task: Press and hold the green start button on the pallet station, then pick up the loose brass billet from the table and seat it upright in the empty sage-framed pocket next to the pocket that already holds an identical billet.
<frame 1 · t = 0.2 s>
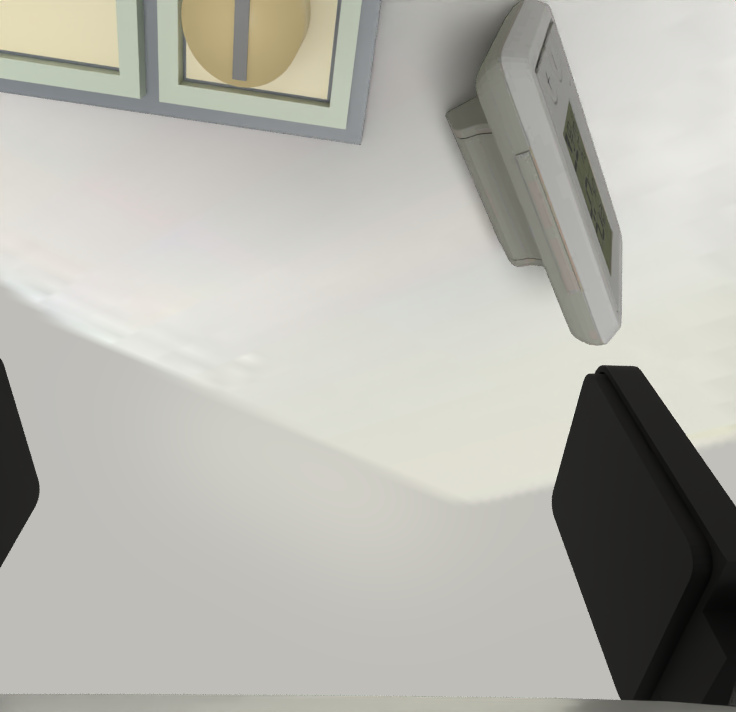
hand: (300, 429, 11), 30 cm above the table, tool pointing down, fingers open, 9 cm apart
digital clock: (536, 147, 39), on the table
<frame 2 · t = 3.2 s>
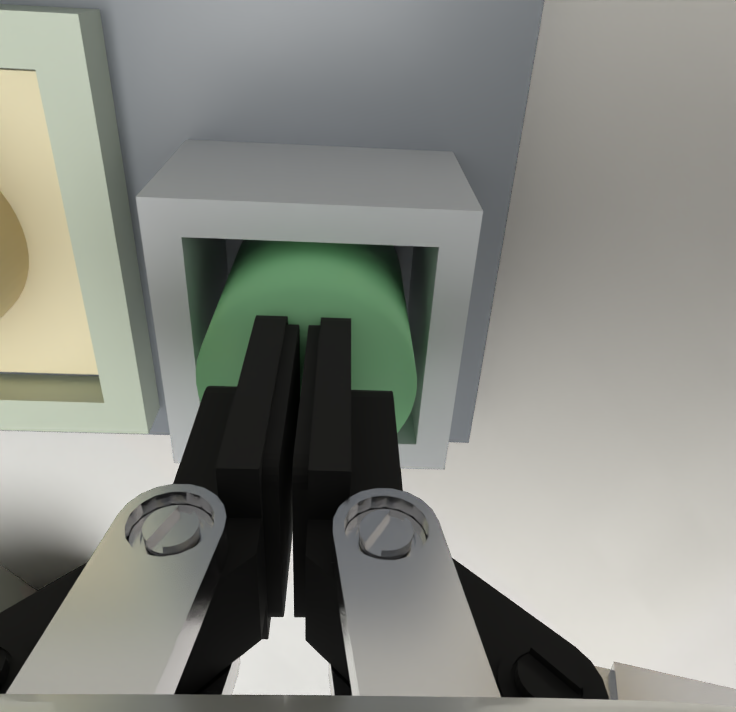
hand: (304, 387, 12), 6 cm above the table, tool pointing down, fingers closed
start button: (313, 327, 14), point 4 cm above the table, slide at 0.7 cm, touching gripper
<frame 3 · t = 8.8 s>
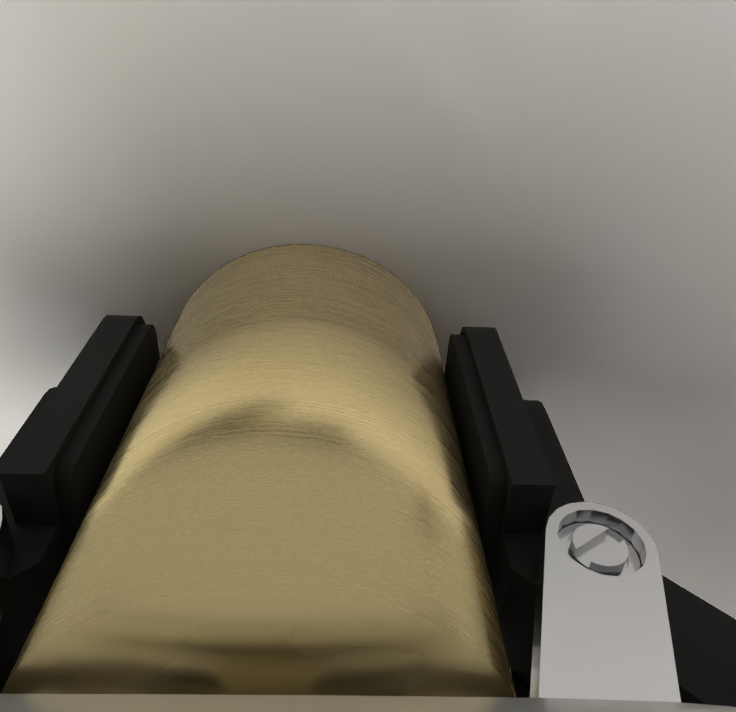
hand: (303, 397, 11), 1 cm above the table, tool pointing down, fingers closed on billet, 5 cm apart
billet: (307, 368, 12), on the table, touching gripper
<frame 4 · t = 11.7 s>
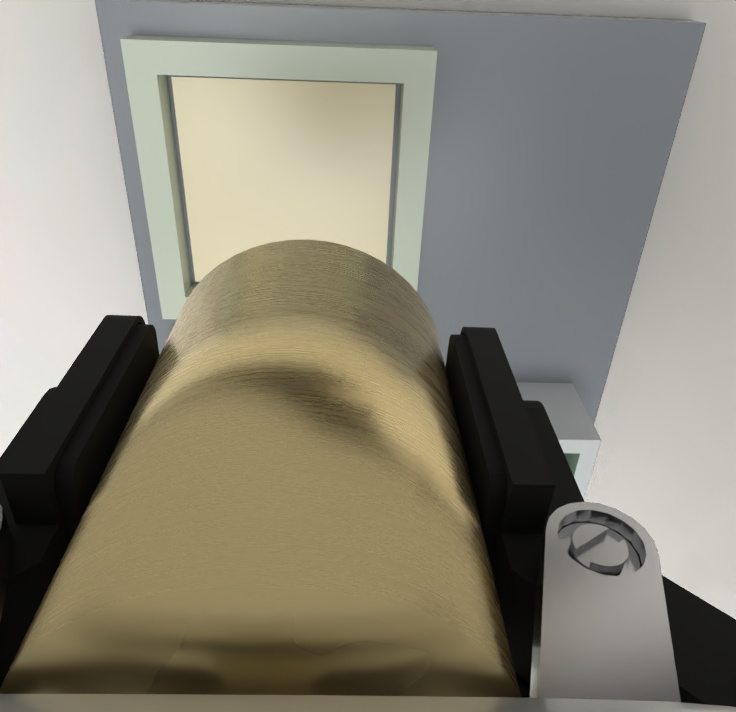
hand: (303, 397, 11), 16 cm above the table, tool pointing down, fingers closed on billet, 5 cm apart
station: (386, 307, 28), on the table
billet: (308, 364, 12), point 15 cm above the table, touching gripper
when the fingers open (4 cm above the table, at t = 14.5 s): billet drops 1 cm, resting on station.
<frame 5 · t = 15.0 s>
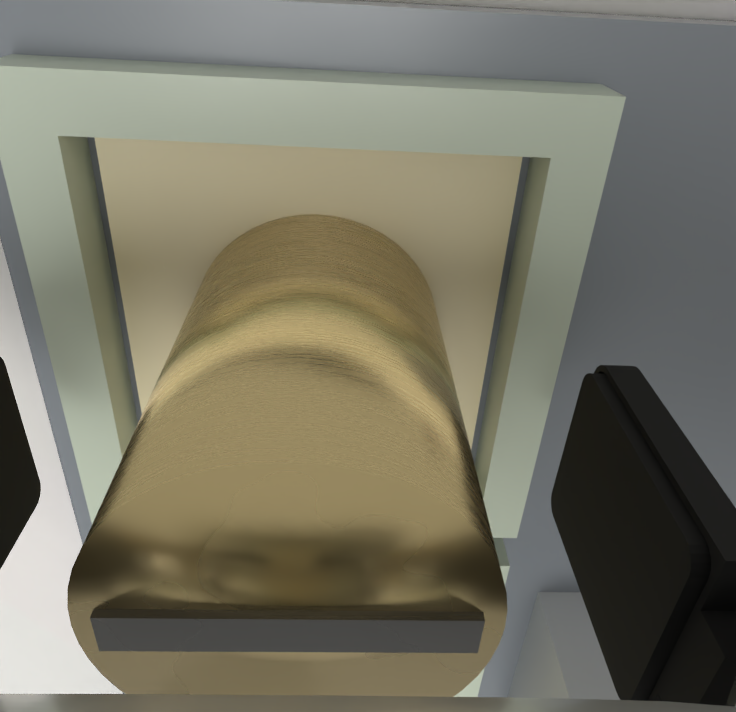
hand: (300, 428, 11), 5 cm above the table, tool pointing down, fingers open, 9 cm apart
station: (458, 482, 18), on the table
billet: (316, 329, 13), point 1 cm above the table, touching station
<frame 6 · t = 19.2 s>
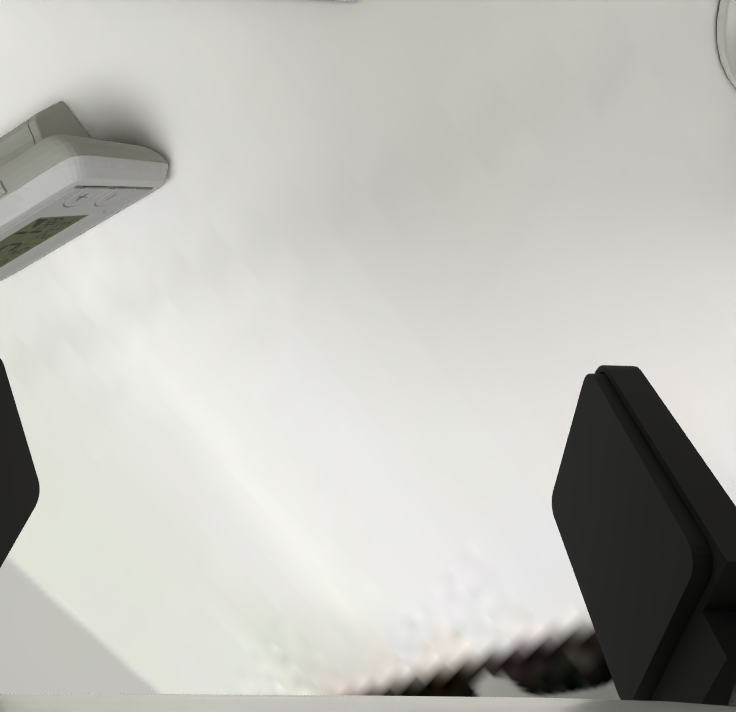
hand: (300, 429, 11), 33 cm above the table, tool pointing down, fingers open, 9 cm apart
digital clock: (57, 191, 42), on the table
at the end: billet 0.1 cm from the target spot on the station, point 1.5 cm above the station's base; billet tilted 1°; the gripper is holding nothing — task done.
